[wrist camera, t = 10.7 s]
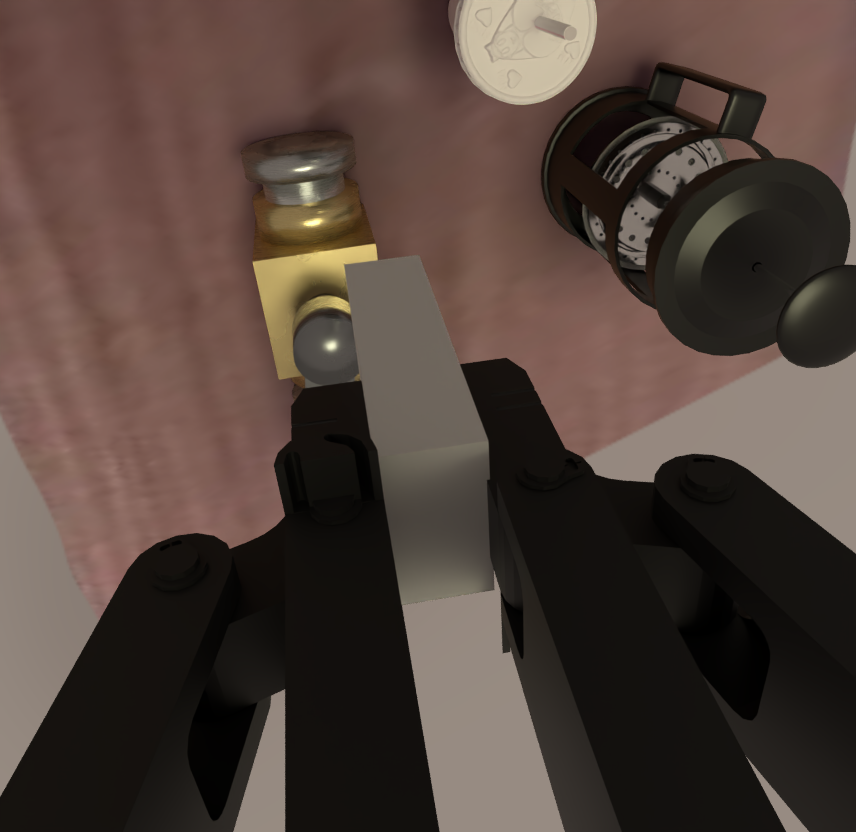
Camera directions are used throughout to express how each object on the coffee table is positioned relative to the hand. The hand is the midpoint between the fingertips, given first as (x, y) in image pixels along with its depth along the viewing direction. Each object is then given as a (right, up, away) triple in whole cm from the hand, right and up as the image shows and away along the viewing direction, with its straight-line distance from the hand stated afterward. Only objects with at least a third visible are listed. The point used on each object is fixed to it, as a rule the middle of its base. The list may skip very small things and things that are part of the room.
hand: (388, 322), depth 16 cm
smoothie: (+4, +20, +27) cm, 34 cm away
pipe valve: (-6, +7, +33) cm, 34 cm away
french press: (+12, +14, +33) cm, 37 cm away
